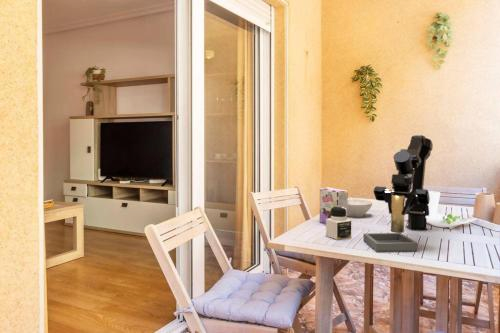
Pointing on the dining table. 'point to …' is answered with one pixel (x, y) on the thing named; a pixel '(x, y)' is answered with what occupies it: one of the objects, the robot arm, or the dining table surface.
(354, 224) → the dining table surface
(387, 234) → the tray
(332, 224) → the medicine bottle
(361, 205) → the bowl
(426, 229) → the robot arm
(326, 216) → the candy box
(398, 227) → the golden metal cylinder
